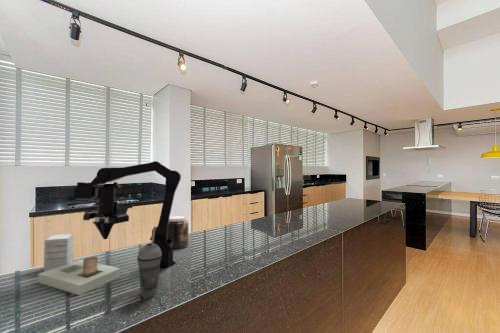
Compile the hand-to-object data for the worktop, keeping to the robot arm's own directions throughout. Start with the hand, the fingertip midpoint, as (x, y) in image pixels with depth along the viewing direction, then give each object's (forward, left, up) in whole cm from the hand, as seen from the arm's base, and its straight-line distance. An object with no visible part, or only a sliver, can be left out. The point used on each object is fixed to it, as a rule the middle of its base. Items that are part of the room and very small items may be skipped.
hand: (105, 239), depth 90 cm
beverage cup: (-30, +7, -12) cm, 33 cm away
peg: (-5, +9, -12) cm, 16 cm away
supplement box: (+18, +6, -12) cm, 23 cm away
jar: (-6, -35, -12) cm, 38 cm away
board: (0, +9, -12) cm, 15 cm away
